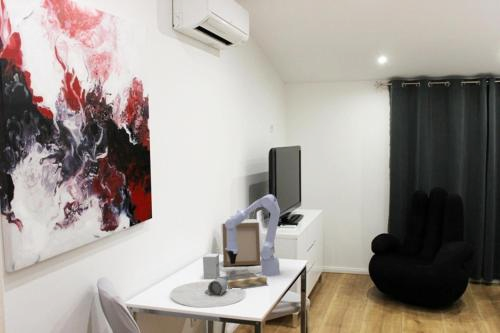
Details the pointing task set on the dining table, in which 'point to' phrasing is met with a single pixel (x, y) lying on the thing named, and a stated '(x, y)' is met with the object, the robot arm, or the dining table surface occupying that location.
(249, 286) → the bench mat
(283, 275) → the dining table surface
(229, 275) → the grey flat piece
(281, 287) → the dining table surface
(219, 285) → the ceramic mug
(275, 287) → the dining table surface
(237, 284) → the bench fence
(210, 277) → the supplement box
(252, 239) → the photo frame
